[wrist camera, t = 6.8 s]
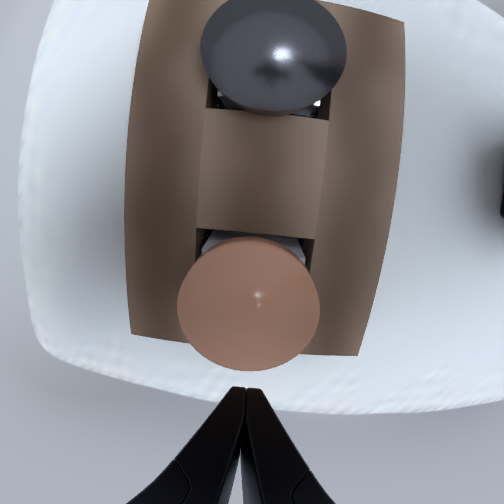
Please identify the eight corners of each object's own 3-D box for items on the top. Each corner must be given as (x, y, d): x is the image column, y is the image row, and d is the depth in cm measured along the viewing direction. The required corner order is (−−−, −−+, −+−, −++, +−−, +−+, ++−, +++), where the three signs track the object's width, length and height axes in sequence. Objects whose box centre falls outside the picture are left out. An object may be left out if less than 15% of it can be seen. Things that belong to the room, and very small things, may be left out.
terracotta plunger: (312, 226, 17) (331, 253, 12) (296, 323, 19) (306, 375, 14) (200, 215, 17) (177, 238, 12) (197, 314, 19) (178, 362, 14)
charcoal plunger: (327, 36, 15) (347, 0, 10) (320, 130, 17) (342, 120, 12) (222, 26, 15) (210, -14, 10) (211, 120, 17) (192, 105, 12)
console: (382, 40, 15) (404, 22, 12) (344, 327, 21) (357, 355, 17) (166, 19, 15) (149, -3, 12) (148, 308, 21) (131, 334, 17)
